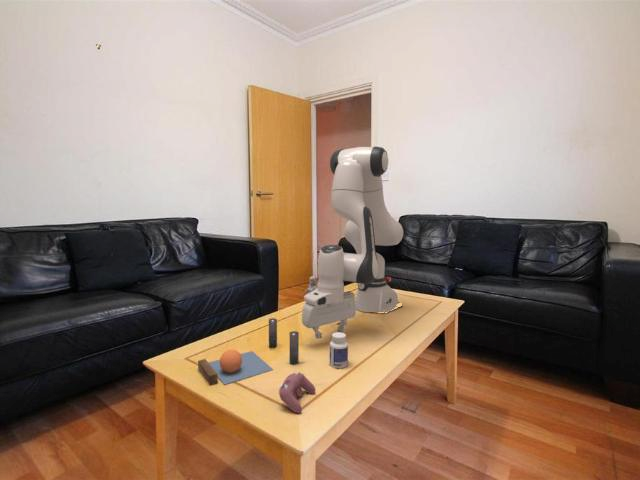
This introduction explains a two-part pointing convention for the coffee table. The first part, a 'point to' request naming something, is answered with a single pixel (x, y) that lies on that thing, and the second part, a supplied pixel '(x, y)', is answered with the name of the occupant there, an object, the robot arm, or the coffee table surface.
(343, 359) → the pill bottle
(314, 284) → the human figurine
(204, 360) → the stopper
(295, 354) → the post
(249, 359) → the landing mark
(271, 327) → the post
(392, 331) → the coffee table surface
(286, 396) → the video game controller
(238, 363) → the ball
